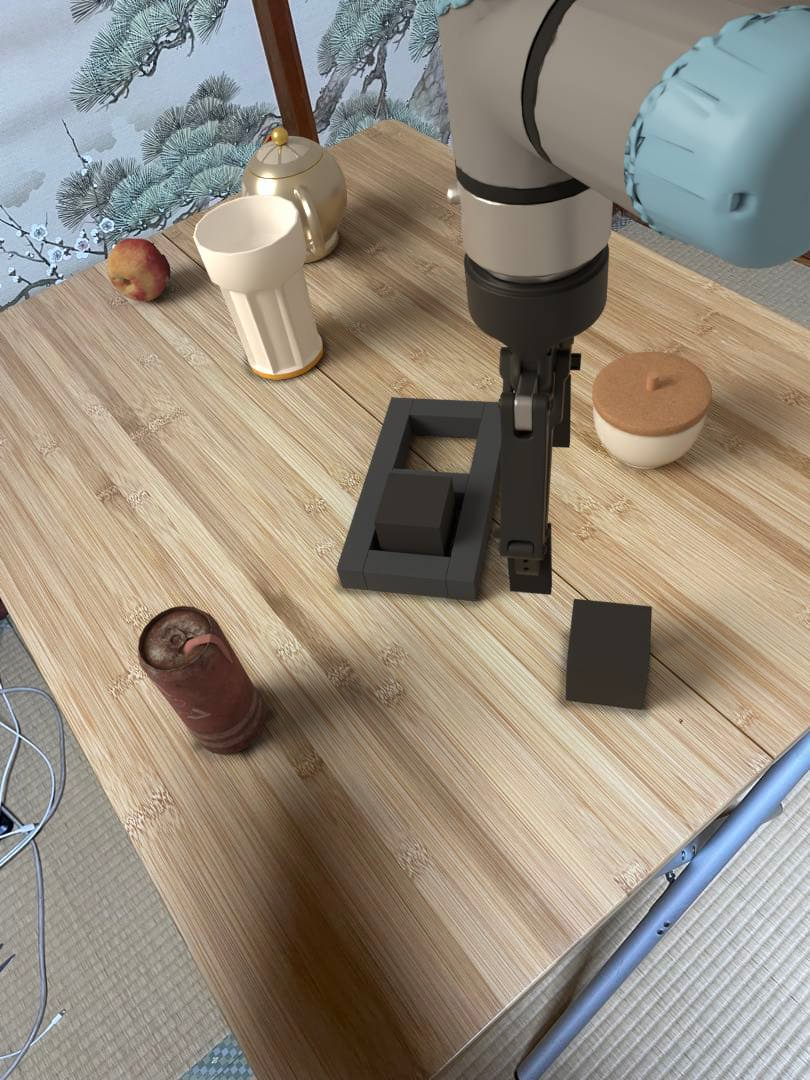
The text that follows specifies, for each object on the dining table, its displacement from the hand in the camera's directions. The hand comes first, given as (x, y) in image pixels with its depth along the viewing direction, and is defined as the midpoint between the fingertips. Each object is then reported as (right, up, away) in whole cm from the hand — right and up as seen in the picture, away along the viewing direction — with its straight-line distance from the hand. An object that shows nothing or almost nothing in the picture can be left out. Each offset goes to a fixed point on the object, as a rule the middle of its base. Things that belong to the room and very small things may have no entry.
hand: (542, 511), depth 59 cm
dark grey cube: (-8, -2, +20) cm, 22 cm away
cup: (-24, +20, +41) cm, 51 cm away
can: (-24, -18, +11) cm, 32 cm away
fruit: (-44, +31, +53) cm, 75 cm away
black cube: (+7, -13, +9) cm, 17 cm away
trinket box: (+14, +7, +24) cm, 29 cm away
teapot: (-22, +37, +54) cm, 69 cm away
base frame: (-7, +2, +23) cm, 24 cm away
